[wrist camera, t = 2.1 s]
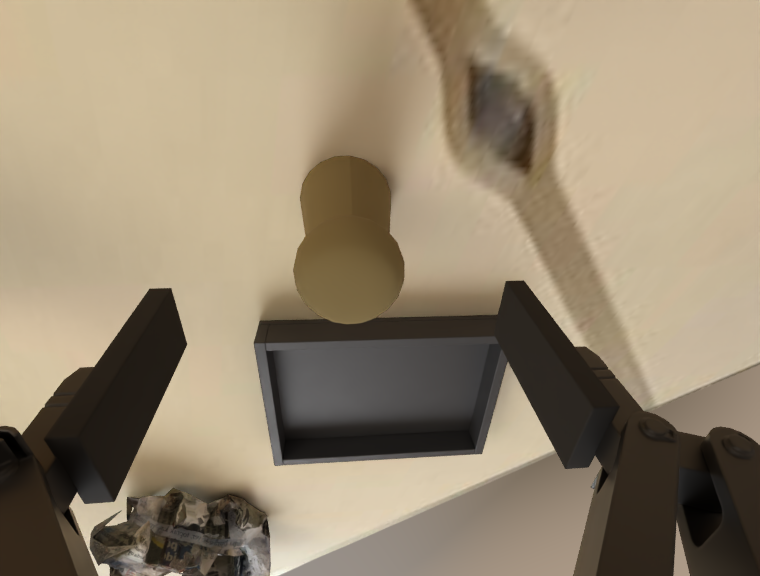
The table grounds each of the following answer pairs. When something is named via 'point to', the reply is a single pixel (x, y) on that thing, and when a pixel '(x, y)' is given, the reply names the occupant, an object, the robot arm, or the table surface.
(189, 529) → the crumpled newspaper
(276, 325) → the dark grey shallow tray
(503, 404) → the table surface
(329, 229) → the tan pawn
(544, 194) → the table surface
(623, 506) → the robot arm
